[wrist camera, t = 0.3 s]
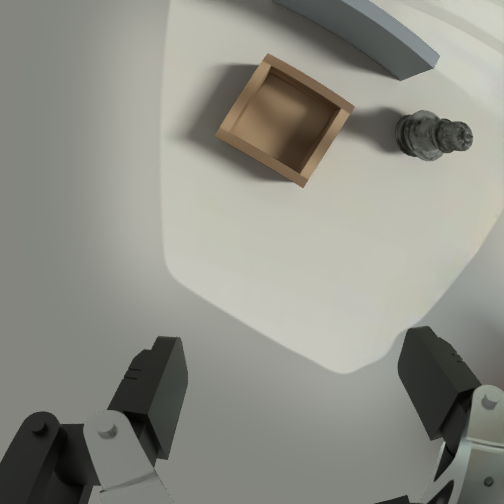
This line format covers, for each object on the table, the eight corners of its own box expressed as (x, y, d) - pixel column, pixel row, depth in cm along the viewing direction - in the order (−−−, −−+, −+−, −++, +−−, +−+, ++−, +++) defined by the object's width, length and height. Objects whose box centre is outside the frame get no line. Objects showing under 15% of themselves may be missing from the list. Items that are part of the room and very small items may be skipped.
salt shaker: (388, 149, 31) (442, 154, 20) (398, 105, 29) (454, 93, 18) (426, 165, 32) (486, 178, 20) (436, 123, 30) (497, 122, 18)
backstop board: (281, -9, 25) (285, -43, 17) (407, 69, 28) (440, 55, 20) (272, 1, 25) (275, -32, 18) (400, 80, 28) (433, 68, 21)
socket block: (266, 64, 28) (267, 53, 24) (343, 111, 30) (354, 106, 26) (220, 137, 31) (214, 136, 27) (297, 182, 33) (303, 188, 29)
